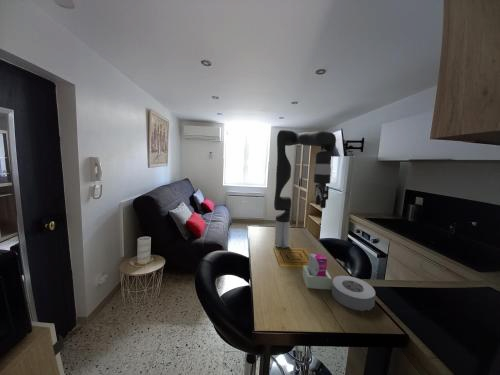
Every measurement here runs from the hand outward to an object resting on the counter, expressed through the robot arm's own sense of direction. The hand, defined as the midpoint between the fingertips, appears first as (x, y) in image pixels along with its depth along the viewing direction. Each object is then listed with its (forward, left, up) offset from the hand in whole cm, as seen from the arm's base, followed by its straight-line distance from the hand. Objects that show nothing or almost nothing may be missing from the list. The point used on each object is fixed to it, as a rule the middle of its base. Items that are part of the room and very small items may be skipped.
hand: (320, 206), depth 95 cm
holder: (+11, -3, -33) cm, 35 cm away
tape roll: (+20, +9, -34) cm, 40 cm away
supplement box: (+11, -3, -32) cm, 34 cm away
